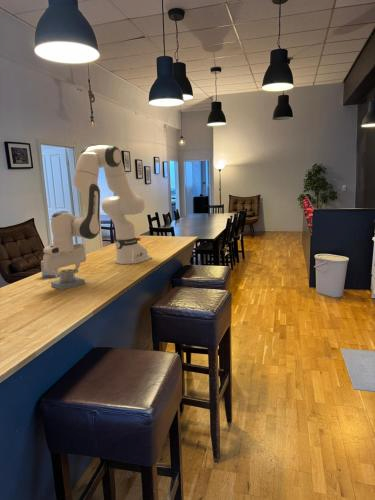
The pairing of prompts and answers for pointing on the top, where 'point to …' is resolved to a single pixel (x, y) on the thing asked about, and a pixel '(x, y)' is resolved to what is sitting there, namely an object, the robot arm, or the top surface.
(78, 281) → the shaft block
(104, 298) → the top surface
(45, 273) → the medicine box
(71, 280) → the tube
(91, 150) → the robot arm
